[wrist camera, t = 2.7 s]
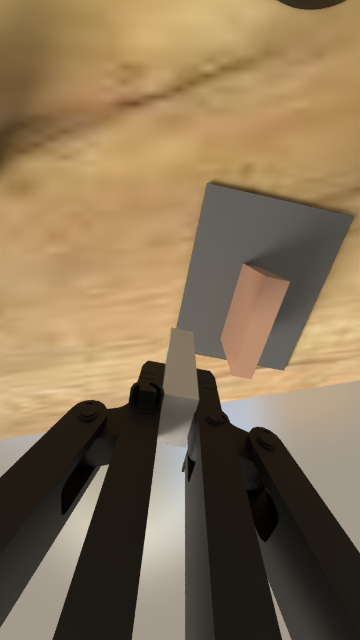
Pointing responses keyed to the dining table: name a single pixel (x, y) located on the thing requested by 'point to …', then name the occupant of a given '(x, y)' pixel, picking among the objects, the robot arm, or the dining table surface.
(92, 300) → the dining table surface
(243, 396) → the dining table surface
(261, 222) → the mat
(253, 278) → the block
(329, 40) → the dining table surface
